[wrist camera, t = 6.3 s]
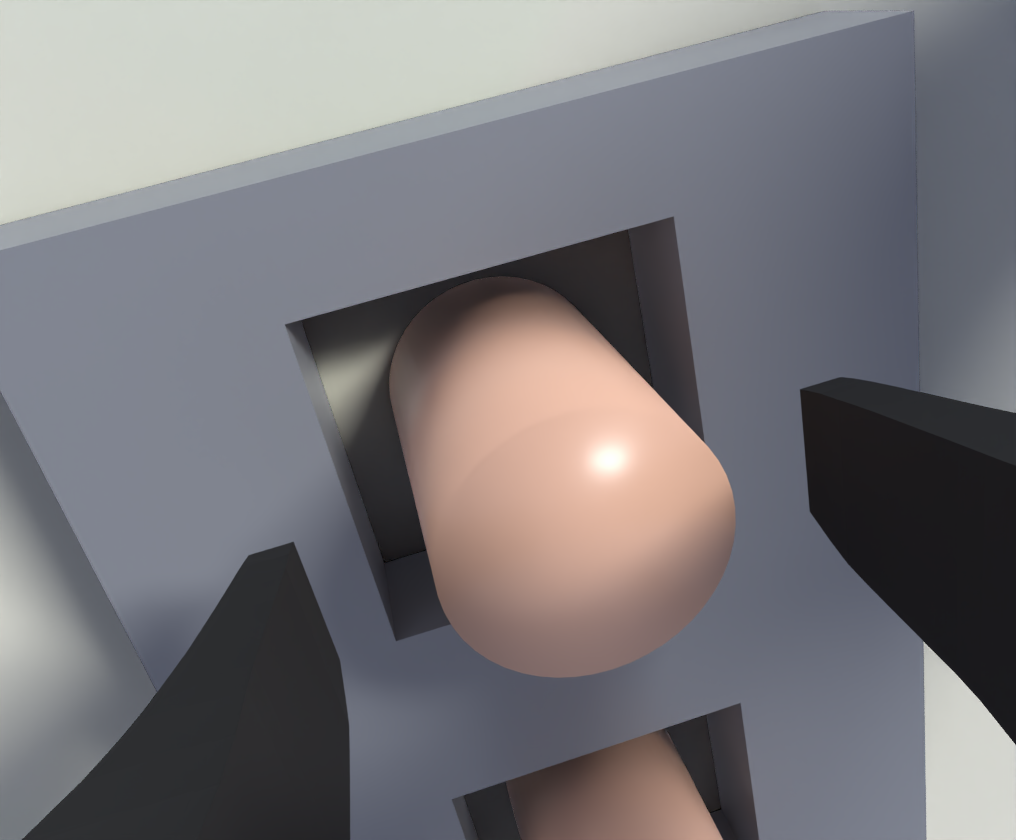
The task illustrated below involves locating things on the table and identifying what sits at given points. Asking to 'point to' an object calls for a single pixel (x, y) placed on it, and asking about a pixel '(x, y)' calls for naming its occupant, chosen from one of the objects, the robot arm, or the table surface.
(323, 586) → the housing
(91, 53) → the table surface
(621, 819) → the fitted pink peg
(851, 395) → the robot arm
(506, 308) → the pink rounded capsule
